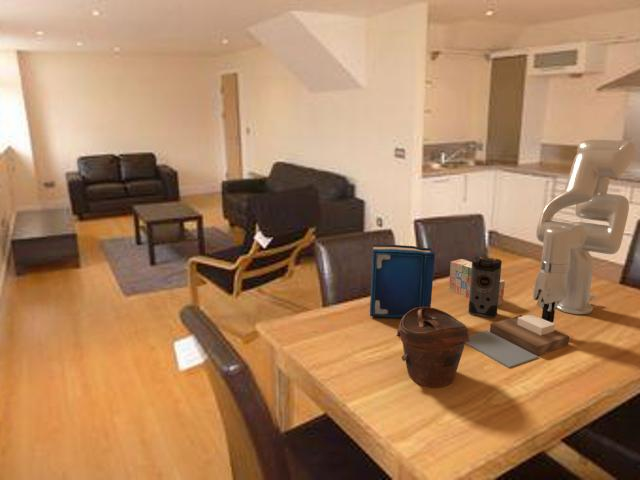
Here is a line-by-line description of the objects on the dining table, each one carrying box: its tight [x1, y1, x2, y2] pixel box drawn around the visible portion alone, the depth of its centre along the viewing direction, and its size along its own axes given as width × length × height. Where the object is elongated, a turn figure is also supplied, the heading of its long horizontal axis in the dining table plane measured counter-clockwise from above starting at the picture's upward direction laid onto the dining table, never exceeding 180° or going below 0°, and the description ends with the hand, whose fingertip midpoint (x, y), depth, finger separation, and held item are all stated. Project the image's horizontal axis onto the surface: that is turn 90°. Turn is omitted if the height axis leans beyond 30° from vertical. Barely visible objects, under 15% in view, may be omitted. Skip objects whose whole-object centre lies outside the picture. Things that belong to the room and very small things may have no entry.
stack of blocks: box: [448, 258, 506, 306], centre depth 187 cm, size 21×6×12 cm, turn 31°
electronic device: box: [468, 256, 502, 319], centre depth 171 cm, size 9×6×20 cm, turn 62°
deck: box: [489, 314, 570, 357], centre depth 154 cm, size 14×18×3 cm
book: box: [369, 244, 436, 319], centre depth 169 cm, size 22×7×25 cm, turn 84°
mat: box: [465, 330, 539, 369], centre depth 148 cm, size 12×20×1 cm, turn 28°
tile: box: [517, 313, 556, 335], centre depth 155 cm, size 6×9×2 cm, turn 28°
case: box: [396, 307, 470, 388], centre depth 132 cm, size 18×20×18 cm
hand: (547, 321), depth 157 cm, fingers closed
